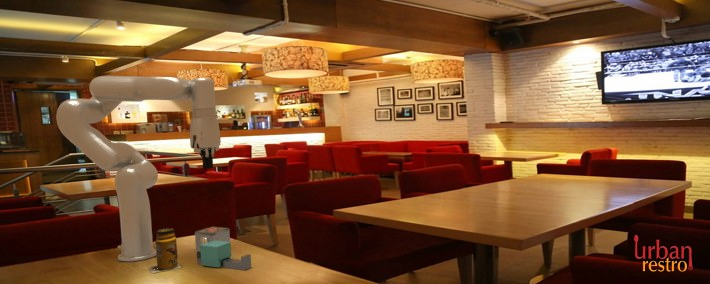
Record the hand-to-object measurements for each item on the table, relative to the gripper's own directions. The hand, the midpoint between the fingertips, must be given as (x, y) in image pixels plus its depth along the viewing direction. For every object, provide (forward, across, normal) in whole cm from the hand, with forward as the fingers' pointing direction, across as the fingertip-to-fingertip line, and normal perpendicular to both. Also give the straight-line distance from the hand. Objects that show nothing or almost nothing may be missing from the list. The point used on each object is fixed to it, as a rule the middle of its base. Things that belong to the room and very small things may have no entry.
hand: (208, 168), depth 164 cm
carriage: (+29, +10, +11) cm, 33 cm away
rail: (+29, +10, +14) cm, 34 cm away
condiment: (+29, +18, -3) cm, 35 cm away
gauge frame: (+29, 0, 0) cm, 29 cm away
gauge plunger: (+26, 0, 0) cm, 26 cm away
